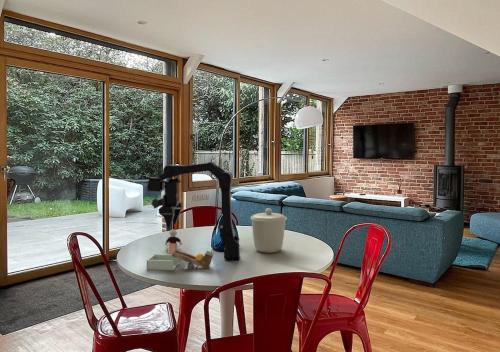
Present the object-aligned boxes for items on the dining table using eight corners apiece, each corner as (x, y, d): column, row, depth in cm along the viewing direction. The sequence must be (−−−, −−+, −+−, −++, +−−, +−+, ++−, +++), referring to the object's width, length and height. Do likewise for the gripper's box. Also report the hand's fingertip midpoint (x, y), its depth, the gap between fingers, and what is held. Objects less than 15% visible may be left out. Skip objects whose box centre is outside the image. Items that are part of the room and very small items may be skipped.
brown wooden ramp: (209, 266, 160) (213, 252, 159) (207, 269, 154) (211, 256, 154) (174, 253, 160) (178, 240, 160) (171, 257, 155) (175, 243, 155)
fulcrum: (198, 265, 161) (198, 260, 160) (195, 270, 154) (195, 264, 154) (186, 264, 161) (186, 259, 161) (183, 269, 155) (183, 264, 154)
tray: (178, 263, 162) (178, 254, 162) (172, 270, 154) (172, 260, 153) (153, 263, 163) (153, 254, 163) (146, 269, 154) (146, 260, 154)
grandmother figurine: (165, 257, 171) (165, 230, 171) (164, 255, 175) (164, 228, 174) (182, 256, 174) (182, 229, 173) (181, 254, 177) (181, 228, 176)
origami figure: (182, 250, 184) (182, 241, 183) (164, 251, 182) (164, 242, 181) (181, 244, 195) (180, 235, 195) (164, 245, 193) (164, 236, 193)
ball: (204, 261, 159) (205, 253, 158) (202, 263, 155) (203, 255, 155) (196, 259, 159) (197, 251, 159) (194, 262, 155) (195, 254, 155)
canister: (243, 252, 181) (243, 209, 180) (260, 244, 197) (260, 204, 196) (277, 257, 173) (278, 212, 171) (292, 248, 189) (292, 207, 187)
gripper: (160, 189, 180) (160, 221, 181) (146, 194, 161) (147, 230, 163) (182, 190, 179) (183, 222, 180) (172, 194, 161) (172, 230, 162)
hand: (171, 226), depth 171 cm, fingers open, 9 cm apart
